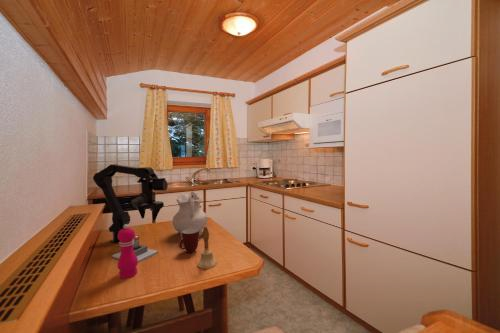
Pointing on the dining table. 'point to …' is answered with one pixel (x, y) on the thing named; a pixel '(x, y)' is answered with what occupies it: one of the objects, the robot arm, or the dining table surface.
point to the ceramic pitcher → (189, 213)
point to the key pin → (136, 242)
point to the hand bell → (206, 253)
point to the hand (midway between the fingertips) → (148, 219)
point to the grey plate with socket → (140, 253)
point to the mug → (189, 239)
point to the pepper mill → (127, 253)
